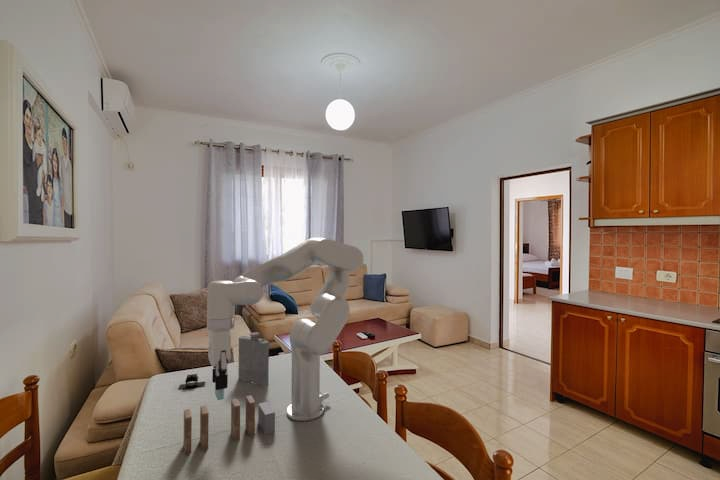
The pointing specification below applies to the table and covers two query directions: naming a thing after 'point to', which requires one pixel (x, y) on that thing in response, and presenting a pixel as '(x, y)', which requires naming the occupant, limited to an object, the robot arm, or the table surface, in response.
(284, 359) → the table surface
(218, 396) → the domino
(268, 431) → the end block
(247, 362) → the hip flask
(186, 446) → the domino
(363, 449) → the table surface
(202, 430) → the domino
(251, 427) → the domino
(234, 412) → the domino
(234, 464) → the table surface
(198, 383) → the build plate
